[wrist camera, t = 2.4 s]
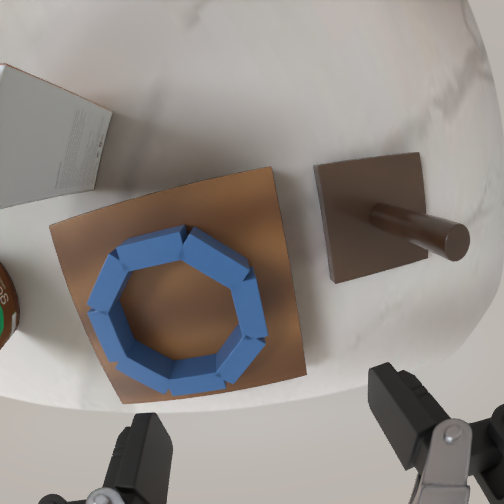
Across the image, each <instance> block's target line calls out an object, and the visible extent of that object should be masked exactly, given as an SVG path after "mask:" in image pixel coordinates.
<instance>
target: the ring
mask: <svg viewBox="0 0 504 504" xmlns="http://www.w3.org/2000/svg"><path fill="white" fill-rule="evenodd" d="M178 260H182V261H184V262H185V263H187V264H189V265H190V266H192V267H194V268H195V269H197V270H199V271H200V272H202V273H204V274H205V275H207V276H209V277H210V278H212V279H214V280H216V281H217V282H219V283H221V284H222V285H224V286H226V287H228V288H229V289H231V293H232V297H233V301H234V305H235V309H236V313H237V317H238V321H239V324H238V325H237V326H236V328H235V329H234V330H233V332H232V333H231V335H230V336H229V337H228V339H227V340H226V341H225V343H224V344H223V346H222V347H221V348H220V350H219V351H218V352H217V354H211V355H206V356H200V357H194V358H188V359H182V360H175V361H174V360H172V359H170V358H168V357H166V356H164V355H162V354H160V353H158V352H157V351H155V350H153V349H151V348H149V347H148V346H146V345H144V344H142V343H140V342H139V341H137V340H135V339H134V336H133V334H132V331H131V329H130V326H129V324H128V321H127V319H126V316H125V314H124V311H123V308H122V306H121V303H120V300H119V299H120V297H121V295H122V293H123V291H124V289H125V287H126V285H127V283H128V281H129V279H130V277H131V275H132V273H133V271H134V270H138V269H143V268H147V267H152V266H156V265H160V264H165V263H169V262H174V261H178ZM87 305H89V306H90V307H92V308H91V309H90V310H89V311H88V312H87V314H88V316H89V318H90V321H91V323H92V326H93V328H94V330H95V333H96V335H97V337H98V339H99V342H100V344H101V346H102V348H103V350H104V352H105V355H106V357H107V359H108V361H109V362H118V363H117V365H116V367H115V369H117V370H118V371H120V372H122V373H124V374H125V375H127V376H129V377H131V378H133V379H135V380H136V381H138V382H140V383H142V384H144V385H146V386H148V387H150V388H152V389H154V390H156V391H158V392H160V393H162V394H165V393H166V392H167V391H168V389H170V392H171V394H172V396H179V395H187V394H195V393H202V392H208V391H215V390H221V389H226V381H227V382H229V383H231V384H234V383H235V382H236V381H237V380H238V378H239V377H240V376H241V375H242V373H243V372H244V371H245V370H246V369H247V367H248V366H249V365H250V364H251V362H252V361H253V360H254V359H255V357H256V356H257V355H258V354H259V352H260V351H261V350H262V349H263V347H264V346H265V345H266V342H265V337H266V336H268V331H267V326H266V321H265V317H264V312H263V307H262V302H261V298H260V293H259V288H258V284H257V279H256V275H255V272H254V268H253V266H251V267H249V264H248V259H247V258H246V257H244V256H242V255H241V254H239V253H237V252H236V251H234V250H232V249H231V248H229V247H228V246H226V245H224V244H223V243H221V242H219V241H218V240H216V239H215V238H213V237H211V236H210V235H208V234H206V233H205V232H203V231H202V230H200V229H198V228H197V227H195V226H194V227H193V229H192V231H191V232H190V234H189V235H188V234H187V230H186V226H185V225H181V226H177V227H172V228H168V229H164V230H160V231H156V232H152V233H148V234H144V235H140V236H136V237H132V238H128V239H127V240H126V241H124V242H123V243H121V244H120V245H119V246H117V247H116V249H114V250H113V251H112V252H110V253H109V254H108V256H107V258H106V260H105V263H104V265H103V267H102V269H101V271H100V274H99V276H98V278H97V280H96V283H95V285H94V287H93V290H92V292H91V294H90V297H89V299H88V302H87Z"/></svg>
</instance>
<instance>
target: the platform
mask: <svg viewBox="0 0 504 504" xmlns="http://www.w3.org/2000/svg"><path fill="white" fill-rule="evenodd" d="M181 225H185V226H186V230H187V234H188V235H189V234H190V232H191V231H192V229H193V227H194V226H195V227H197V228H198V229H200V230H202V231H203V232H205V233H206V234H208V235H210V236H211V237H213V238H215V239H216V240H218V241H219V242H221V243H223V244H224V245H226V246H228V247H229V248H231V249H232V250H234V251H236V252H237V253H239V254H241V255H242V256H244V257H246V258H247V259H248V264H249V267H251V266H253V268H254V272H255V275H256V279H257V284H258V288H259V293H260V298H261V302H262V307H263V312H264V317H265V321H266V326H267V331H268V336H266V337H265V342H266V345H265V346H264V347H263V349H262V350H261V351H260V352H259V354H258V355H257V356H256V357H255V359H254V360H253V361H252V362H251V364H250V365H249V366H248V367H247V369H246V370H245V371H244V372H243V373H242V375H241V376H240V377H239V378H238V380H237V381H236V382H235V383H234V384H231V383H229V382H227V381H226V389H221V390H215V391H208V392H202V393H195V394H187V395H179V396H172V394H171V392H170V389H168V391H167V392H166V393H165V394H162V393H160V392H158V391H156V390H154V389H152V388H150V387H148V386H146V385H144V384H142V383H140V382H138V381H136V380H135V379H133V378H131V377H129V376H127V375H125V374H124V373H122V372H120V371H118V370H117V369H115V367H116V365H117V363H118V362H109V361H108V359H107V357H106V355H105V352H104V350H103V348H102V346H101V344H100V342H99V339H98V337H97V335H96V333H95V330H94V328H93V326H92V323H91V321H90V318H89V316H88V314H87V312H88V311H89V310H90V309H91V308H92V307H90V306H89V305H87V302H88V299H89V297H90V294H91V292H92V290H93V287H94V285H95V283H96V280H97V278H98V276H99V274H100V271H101V269H102V267H103V265H104V263H105V260H106V258H107V256H108V254H109V253H110V252H112V251H113V250H114V249H116V247H117V246H119V245H120V244H121V243H123V242H124V241H126V240H127V239H128V238H132V237H136V236H140V235H144V234H148V233H152V232H156V231H160V230H164V229H168V228H172V227H177V226H181ZM49 228H50V232H51V235H52V239H53V243H54V246H55V249H56V253H57V256H58V259H59V262H60V265H61V268H62V271H63V274H64V277H65V280H66V283H67V286H68V288H69V291H70V294H71V296H72V299H73V302H74V304H75V307H76V309H77V312H78V314H79V317H80V319H81V321H82V324H83V326H84V328H85V331H86V333H87V335H88V337H89V340H90V342H91V344H92V346H93V348H94V350H95V353H96V355H97V357H98V359H99V361H100V363H101V365H102V367H103V369H104V371H105V373H106V374H107V376H108V378H109V380H110V382H111V384H112V386H113V388H114V389H115V391H116V393H117V395H118V396H119V398H120V400H121V402H122V403H123V404H132V403H146V402H157V401H167V400H176V399H185V398H192V397H200V396H206V395H213V394H219V393H225V392H231V391H237V390H242V389H247V388H252V387H257V386H262V385H267V384H271V383H276V382H280V381H284V380H289V379H293V378H297V377H301V376H305V375H307V371H306V364H305V357H304V350H303V344H302V337H301V330H300V324H299V318H298V311H297V305H296V299H295V293H294V287H293V281H292V275H291V269H290V263H289V258H288V252H287V246H286V241H285V235H284V230H283V224H282V219H281V214H280V208H279V203H278V198H277V193H276V188H275V183H274V177H273V172H272V168H271V167H264V168H259V169H254V170H249V171H244V172H239V173H234V174H230V175H225V176H220V177H216V178H212V179H207V180H203V181H199V182H195V183H190V184H186V185H182V186H178V187H174V188H170V189H167V190H163V191H159V192H155V193H151V194H148V195H144V196H141V197H137V198H134V199H130V200H127V201H123V202H120V203H116V204H113V205H110V206H106V207H103V208H100V209H97V210H94V211H90V212H87V213H84V214H81V215H78V216H75V217H72V218H69V219H66V220H63V221H61V222H58V223H55V224H52V225H50V226H49ZM119 300H120V303H121V306H122V308H123V311H124V314H125V316H126V319H127V321H128V324H129V326H130V329H131V331H132V334H133V336H134V339H135V340H137V341H139V342H140V343H142V344H144V345H146V346H148V347H149V348H151V349H153V350H155V351H157V352H158V353H160V354H162V355H164V356H166V357H168V358H170V359H172V360H174V361H175V360H182V359H188V358H194V357H200V356H206V355H211V354H217V352H218V351H219V350H220V348H221V347H222V346H223V344H224V343H225V341H226V340H227V339H228V337H229V336H230V335H231V333H232V332H233V330H234V329H235V328H236V326H237V325H238V324H239V321H238V317H237V313H236V309H235V305H234V301H233V297H232V293H231V289H229V288H228V287H226V286H224V285H222V284H221V283H219V282H217V281H216V280H214V279H212V278H210V277H209V276H207V275H205V274H204V273H202V272H200V271H199V270H197V269H195V268H194V267H192V266H190V265H189V264H187V263H185V262H184V261H182V260H178V261H174V262H169V263H165V264H160V265H156V266H152V267H147V268H143V269H138V270H134V271H133V273H132V275H131V277H130V279H129V281H128V283H127V285H126V287H125V289H124V291H123V293H122V295H121V297H120V299H119Z"/></svg>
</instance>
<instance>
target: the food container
mask: <svg viewBox="0 0 504 504" xmlns="http://www.w3.org/2000/svg"><path fill="white" fill-rule="evenodd" d="M19 314H20V309H19V303H18V296H17V294H16V291H15V288H14V285H13V282H12V280H11V278H10V276H9V274H8V273H7V271H6V270H5V268H4V267H3V265H2V264H1V263H0V350H1V348H2V347H3V346H4V344H5V343H6V342H7V341H8V339H9V338H10V337H11V336H12V334H13V333H14V332H15V331H16V329H17V326H18V324H19Z"/></svg>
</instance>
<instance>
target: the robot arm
mask: <svg viewBox="0 0 504 504" xmlns="http://www.w3.org/2000/svg"><path fill="white" fill-rule="evenodd" d="M368 403H369V406H370V409H371V411H372V413H373V415H374V416H375V418H376V420H377V421H378V423H379V425H380V427H381V428H382V430H383V432H384V434H385V435H386V437H387V439H388V441H389V442H390V444H391V446H392V447H393V449H394V451H395V453H396V454H397V456H398V458H399V460H400V462H401V463H402V465H403V467H404V469H405V470H408V469H410V468H413V467H415V468H416V469H417V471H418V474H417V477H416V481H415V484H414V488H413V491H412V494H411V497H410V500H409V503H408V504H468V502H469V496H470V486H467V478H468V476H471V475H474V477H475V479H476V480H477V482H478V484H479V485H480V487H481V489H482V490H483V492H484V494H485V496H486V497H487V499H488V501H489V503H490V504H504V404H503V405H500V406H499V407H497V408H496V409H495V411H494V412H493V414H492V417H491V418H488V419H485V420H481V421H478V422H474V423H467V422H465V421H463V420H461V419H455V418H454V419H451V418H450V417H449V416H448V415H447V413H446V412H445V411H444V410H443V408H442V407H441V406H440V405H439V404H438V402H437V401H436V400H435V399H434V398H433V396H432V395H431V394H430V393H428V391H427V389H426V388H425V387H424V386H422V384H421V382H420V381H419V380H418V379H417V378H416V377H415V375H413V374H411V373H409V372H407V371H405V370H402V371H400V372H397V371H396V370H395V369H394V367H393V366H392V365H391V364H390V363H389V362H386V363H384V364H381V365H378V366H375V367H372V368H370V369H369V372H368ZM172 454H173V445H172V441H171V438H170V436H169V435H168V433H167V431H166V429H165V428H164V426H163V424H162V422H161V421H160V419H159V417H158V415H157V414H156V413H139V414H135V416H134V419H133V422H132V425H131V427H125V429H124V430H123V431H122V432H121V434H120V435H119V436H118V439H117V442H116V445H115V448H114V451H113V454H112V455H113V457H112V458H111V461H110V464H109V467H108V471H107V474H106V477H105V481H104V484H103V487H102V488H99V489H96V490H95V491H93V492H91V493H90V494H89V496H88V497H87V499H86V500H79V501H71V502H67V501H66V500H64V499H63V498H62V497H61V496H59V495H57V494H49V495H47V496H44V497H43V498H42V499H41V500H40V501H39V503H38V504H166V502H167V493H168V485H169V477H170V476H169V475H170V469H171V461H172Z"/></svg>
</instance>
